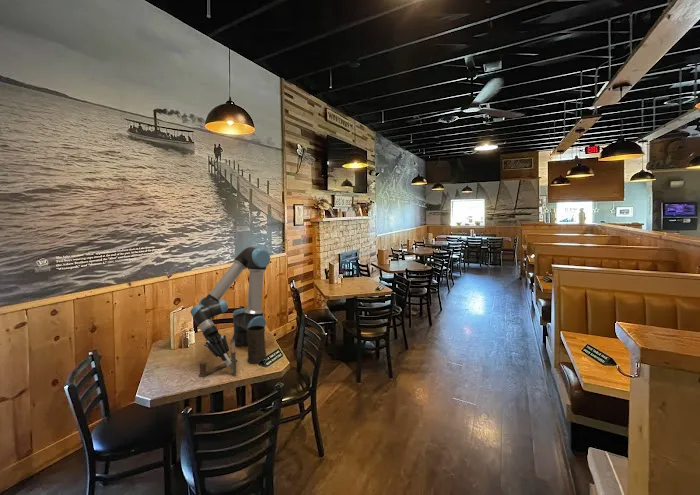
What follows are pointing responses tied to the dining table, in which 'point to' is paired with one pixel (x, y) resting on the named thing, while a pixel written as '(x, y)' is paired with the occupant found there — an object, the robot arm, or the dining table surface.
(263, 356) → the beer stein
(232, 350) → the gate
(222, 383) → the dining table surface
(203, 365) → the gate frame
